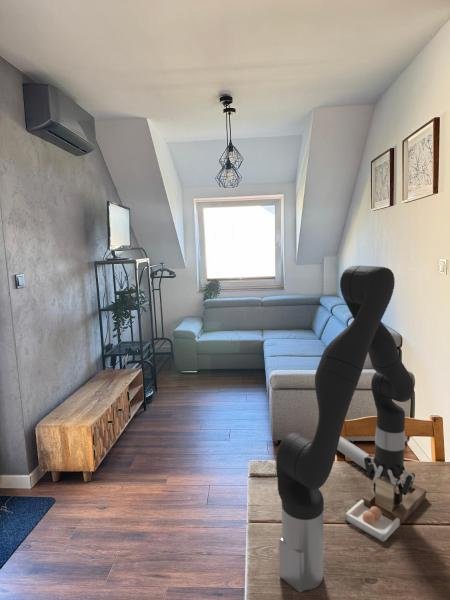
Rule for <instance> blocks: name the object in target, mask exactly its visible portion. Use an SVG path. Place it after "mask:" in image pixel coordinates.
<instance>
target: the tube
mask: <svg viewBox="0 0 450 600" xmlns="http://www.w3.org/2000/svg"><path fill="white" fill-rule="evenodd" d="M337 451H338V452H339V453H342V455H344V456H345V457H347V458H348V459H350V460H352V462H354V463H355V464H357V465H358V466H359V467H361V468H363V469H364V470H365V471H366V467H365V462H364V458H365V457H367V456H368V455H370V454H369V453H367V452H366V451H364V450H363V449H362V448H359V447H358V446H356V445H355V444H354V443H352V442H351V441H349V440H347V439H346V438H344V437H343V436H341V435H340V439H339V443H338V447H337ZM374 469H375V474H376V472H377V470H378V469H377V467H376V465H375V463H374Z"/></svg>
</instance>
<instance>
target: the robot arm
mask: <svg viewBox="0 0 450 600" xmlns="http://www.w3.org/2000/svg"><path fill="white" fill-rule="evenodd" d="M395 282H396V281H395V275H394V272H393V271H392V269H390V268H388V267H384V266H375V265H373V266H372V265H351V266H348V267H346V268H345V269H344V271H343V272H342V274H341V277H340V281H339V288H340V294H341V296H342V298H343V300H344V303H345V304H346V306H347V309H348V310H349V312H350V314H351V316H352V318H353V321H352V322H351V323H350V324H349V325H348V326H346V327H345V329H343V331H341V332H340V333H339V334H338V335H336V337H334V339H332V340H331V341H330V342H329V344H327V346H326V347H325V349H323V350H324V351H323V352H322V355H321V357H320V360H319V363H318V366H317V367H316V372H315V375H314V387H315V396H316V402H317V406H318V420H317V425H316V430H315V434H314V436H313V439H312V438H309V437H308V436H306V435H303V434H301V433H299V432H290V433H288V434H286V435H285V436H284V437H283V438H282V439H281V441H280V443H279V445H278V448H277V451H276V462H275V463H276V464H275V465H276V467H275V468H276V479H277V492H278V495H279V497H280V500H281V538H279V540H278V541H279V543H278V547H279V548H278V551H279V552H278V554H279V557H278V558H279V566H278V567H279V577H280V578H281V579H283V580H284V581H285V582H286V583H287V584H288V585H289V586H291V587H292V588H293V589H295V590H296V592H298V593H300V594H301V593H302V592H304V591H310V590H313V589H317V588H318V587H319V586H320V585H321V583H322V582H323V579H324V520H325V519H324V513H325V512H324V511H325V506H324V504H325V501H324V496H323V493H322V492H321V490H320V488H321V487H323V486H324V484H325V483H326V481H327V480H328V479H329V476H330V474H331V472H332V469H333V466H334V464H335V463H334V462H335V459H336V455H337V451H338V450H337V447H338V443H339V439H340V436H341V435H342V431H343V426H344V423H345V421H346V417H347V414H348V412H349V407H350V405H351V402H352V399H353V397H354V394H355V391H356V388H357V386H358V383H359V381H360V378H361V375H362V372H363V369H364V366H365V363H366V359H367V356H368V357H369V359H370V363H371V365H372V366H371V367H372V369H374V370H375V373H374V374H373V376H372V378H371V382H370V388H371V393H372V397H373V401H374V406H375V408H376V426H375V427H376V428H375V435H374V436H375V437H374V456H372V454H369V455H368V456H367V457H365V458H364V462H365V467H366V470H365V471H366V476H367V478H368V479H371V481H372V483H373V488H372V489H373V490H374V492H375V490H376V478H380V477H381V476H384V477H387V478H388V479H390V480H391V482H392V485H395V495H394V504H395V505H398V504H400V503H401V502H402V494H403V495H406V494H407V493H408V492H409V491H410V490H411V487H412V484H413V483H414V481H415V477H416V474H415V473H414V472H409V471H407V470H406V467H405V466H404V463H405V446H406V433H405V425H406V423H405V422H406V412H405V410H404V408H402V407H401V406H400V405H398V404H397V403H396V402H395V401H397V402H400V403H405V402H408V401H409V400H411V399H412V397H413V395H414V392H415V386H414V385H415V384H414V381H413V378H412V376H411V374H410V372H409V371H408V370H407V368H406V366H405V364H404V363H403V362H402V361H401V358H400V354H399V350H398V347H397V343H396V340H395V338H394V336H393V335H392V333H391V332H390V331H389V329H388V328H387V327H386V326H385V324H384V323H383V322H382V319H383V317H384V315H385V313H386V311H387V309H388V306H389V304H390V302H391V300H392V296H393V294H394V289H395ZM374 463H375V465H376V467H377V469H378V470H377V472H376V474H375V469H374ZM402 475H403V478H404V479H403V478H402ZM402 480H404V481H405V484H404V487H403V485H402ZM413 485H414V484H413Z"/></svg>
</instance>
